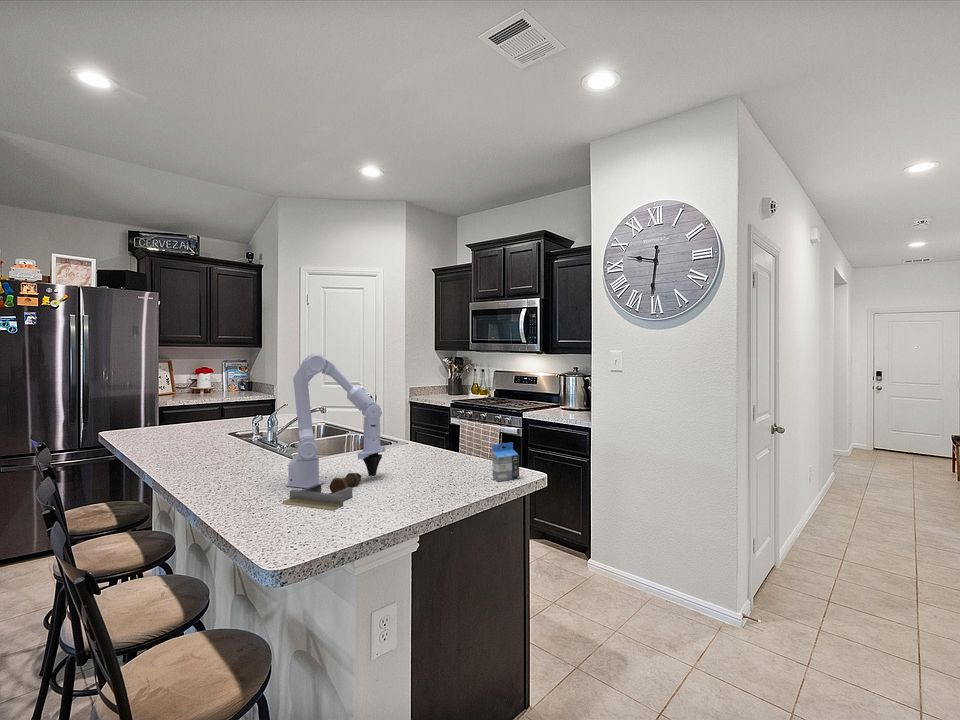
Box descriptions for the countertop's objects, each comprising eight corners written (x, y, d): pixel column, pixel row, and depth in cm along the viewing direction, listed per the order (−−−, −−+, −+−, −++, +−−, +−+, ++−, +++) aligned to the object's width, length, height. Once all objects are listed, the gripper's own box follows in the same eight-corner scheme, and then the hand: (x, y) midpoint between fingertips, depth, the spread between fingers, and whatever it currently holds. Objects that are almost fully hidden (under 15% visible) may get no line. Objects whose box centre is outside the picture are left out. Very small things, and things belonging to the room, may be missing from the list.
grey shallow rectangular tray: (282, 503, 148) (282, 493, 148) (310, 492, 159) (310, 483, 159) (333, 510, 141) (333, 499, 141) (359, 498, 153) (359, 488, 153)
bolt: (359, 488, 172) (339, 499, 157) (347, 480, 172) (326, 490, 158) (367, 473, 171) (348, 483, 156) (355, 465, 172) (335, 474, 157)
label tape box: (498, 482, 171) (498, 446, 171) (492, 479, 175) (491, 444, 175) (519, 478, 176) (519, 443, 176) (513, 476, 179) (512, 441, 179)
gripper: (370, 441, 168) (370, 481, 168) (392, 434, 181) (392, 471, 181) (352, 439, 170) (352, 479, 170) (375, 433, 184) (376, 470, 184)
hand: (372, 475), depth 176 cm, fingers closed
